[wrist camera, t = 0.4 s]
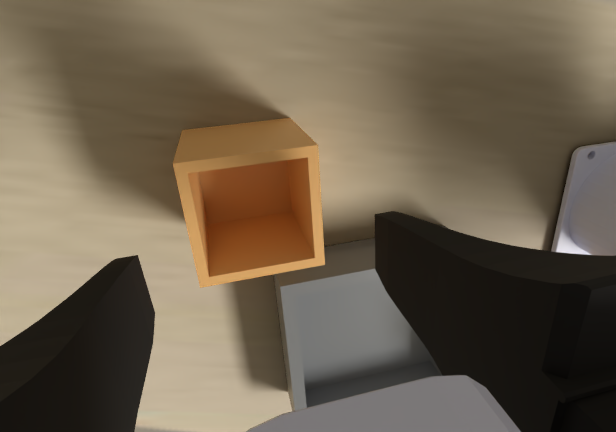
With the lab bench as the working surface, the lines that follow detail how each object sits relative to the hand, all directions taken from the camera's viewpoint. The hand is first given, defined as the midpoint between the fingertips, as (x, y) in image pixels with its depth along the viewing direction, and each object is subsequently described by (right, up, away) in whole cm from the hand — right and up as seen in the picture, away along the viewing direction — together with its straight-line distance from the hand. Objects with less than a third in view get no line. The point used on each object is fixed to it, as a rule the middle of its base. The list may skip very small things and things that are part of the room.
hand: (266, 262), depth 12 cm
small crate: (-2, +3, +7) cm, 9 cm away
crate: (+5, -5, +13) cm, 14 cm away
